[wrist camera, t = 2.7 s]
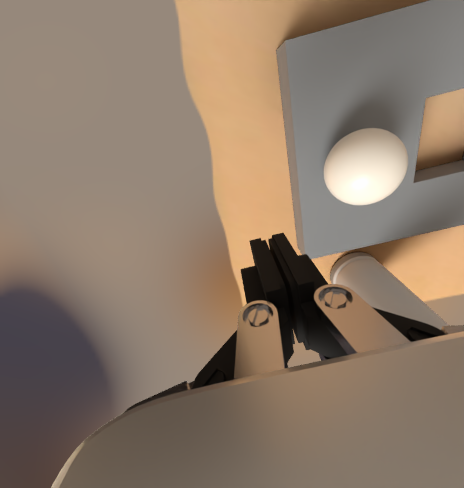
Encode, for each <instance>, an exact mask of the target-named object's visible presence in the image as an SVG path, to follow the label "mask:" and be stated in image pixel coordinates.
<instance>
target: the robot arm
mask: <svg viewBox="0 0 464 488" xmlns="http://www.w3.org/2000/svg"><path fill="white" fill-rule="evenodd" d="M250 245H251V250H252V254H253V259H254V263H255V266H252V267H248V268H244V269H241V274H242V280H243V285H244V291H245V296H246V302H247V304H246V305H245V306H244V307H243V308H242V309H241V311H240V312H239V316H238V328H237V331H236V332H235V333H234V334H233V335H232V336H231V337H230V338H229V340H228V341H227V342H226V343H225V344H224V345H223V346H222V348H220V350H219V351H218V352H217V353H216V354H215V355H214V356H213V358H212V359H211V360H210V361H209V362H208V363H207V364H206V365H205V367H204V368H203V369H202V370H201V371H200V372H199V374H198V375H197V377H196V378H195V381H192V382H190V383H187V381H184V382H182V383H180V384H178V385H176V386H173V387H171V388H169V389H167V390H165V391H162V392H160V393H158V394H156V395H154V396H151V397H149V398H147V399H145V400H142V401H140V402H138V403H136V404H134V405H133V406H131V407H129V408H128V409H127V410H126V411H125V412H124V413H122V414H121V415H119V416H117V417H116V418H114V419H113V420H111V421H109V422H108V423H106V424H105V425H103V426H102V427H100V428H99V429H98V430H96V431H95V432H94V433H93V434H91V435H90V436H89V437H88V438H87V439H85V440H84V442H82V443H81V444H80V446H79V447H78V448H77V449H76V450H75V451H74V453H73V454H72V455H71V456H70V458H69V459H68V460H67V462H66V463H65V465H64V466H63V468H62V470H61V471H60V473H59V474H58V476H57V478H56V480H55V481H54V483H53V485H52V487H51V488H464V325H463V326H462V325H458V326H442V329H438V328H436V327H434V326H432V325H429V324H427V323H424V322H420V321H417V320H413V319H410V318H407V317H403V316H400V315H397V314H393V313H390V312H387V311H383V310H380V309H377V308H373V307H371V306H370V305H369V304H368V303H367V302H365V301H364V300H363V299H362V298H361V297H360V296H359V295H358V294H357V293H355V292H354V291H353V290H352V289H350V288H349V287H346V286H344V285H339V284H328V283H327V282H326V280H325V279H324V278H323V276H322V275H321V273H320V272H319V270H318V269H317V268H316V266H315V265H314V263H313V262H312V260H311V259H310V258H309V256H308V255H307V254H304V255H299V256H298V255H297V254H296V252H295V251H294V249H293V247H292V246H291V244H290V243H289V241H288V239H287V238H286V236H285V235H284V233H280V234H276V235H272V238H271V239H269V246H270V249H269V247H268V245H267V243H266V240H263V241H261V238H259V239H255V240H251V241H250ZM293 330H294V333H295V335H296V338H297V340H298V343H301V342H303V343H304V346H305V348H306V350H309V349H311V350H313V351H316V352H318V353H319V356H320V359H321V361H318V362H313V363H309V364H304V365H300V366H295V367H290V368H288V365H287V362H288V361H289V359H290V358H291V356H292V354H293V353H294V350H293V344H295V341H294V334H293Z"/></svg>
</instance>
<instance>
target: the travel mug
mask: <svg viewBox="0 0 464 488" xmlns="http://www.w3.org/2000/svg"><path fill="white" fill-rule="evenodd" d="M330 280H331V283H332V284H339V285H344V286H346V287H349V288H350V289H352V290H353V291H354V292H355V293H357V294H358V295H359V296H360V297H361V298H362V299H363V300H364V301H365V302H367V303H368V304H369V305H370V306H371V307H373V308H377V309H380V310H383V311H387V312H390V313H393V314H397V315H400V316H403V317H407V318H410V319H413V320H417V321H420V322H424V323H427V324H429V325H432V326H434V327H436V328H438V329H442V326H450V325H448V324H447V323H446V322H445V321H444V320H443V319H442V318H441V317H439V316H438V315H437V314H436V313H435V312H434V311H433V310H431V308H429V307H428V306H427V305H426V304H425V303H424V302H423V301H422V300H421V299H419V298H418V297H417V296H416V295H415V294H414V293H413V292H412V291H410V290H409V289H408V288H407V287H406V286H405V285H404V284H403V283H402V282H400V281H399V280H398V279H397V278H396V277H395V276H394V275H393V274H391V273H390V272H389V271H388V270H387V269H386V268H385V267H384V266H383V265H381V264H380V263H379V262H378V261H377V260H376V259H375V258H374V257H373V256H371V255H370V254H368V253H364V252H354V253H350V254H348V255H345V256H344V257H342V258H341V259H339V260H338V261H337V262H336V263H335V264H334V266H333V268H332V270H331V273H330Z"/></svg>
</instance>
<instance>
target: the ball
mask: <svg viewBox="0 0 464 488" xmlns="http://www.w3.org/2000/svg"><path fill="white" fill-rule="evenodd" d="M407 167H408V155H407V151H406V148H405V146H404V144H403V143H402V141H401V140H400V139H399V138H398V137H397V136H396V135H394V134H393V133H391V132H389V131H387V130H383V129H379V128H365V129H360V130H357V131H354V132H352V133H350V134H348V135H346V136H345V137H343V138H342V139H341V140H339V141H338V142H337V143H336V144H335V145H334V147H333V148H332V149H331V151H330V152H329V154H328V156H327V159H326V161H325V165H324V180H325V183H326V186H327V188H328V189H329V191H330V192H331V194H332V195H333V196H335V197H336V198H337V199H339V200H340V201H342V202H344V203H347V204H351V205H368V204H372V203H376V202H378V201H380V200H382V199H384V198H386V197H387V196H389V195H390V194H391V193H393V192H394V191H395V190H396V189H397V188H398V186H399V185H400V184H401V182H402V180H403V179H404V177H405V174H406V171H407Z"/></svg>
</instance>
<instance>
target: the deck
mask: <svg viewBox="0 0 464 488" xmlns="http://www.w3.org/2000/svg"><path fill="white" fill-rule="evenodd" d="M276 54H277V63H278V72H279V81H280V90H281V99H282V108H283V118H284V127H285V136H286V145H287V154H288V163H289V172H290V182H291V191H292V200H293V209H294V218H295V227H296V236H297V246H298V249H299V250H300V252H301V254H302V255H304V254H307V255H308V256H309V258H310V259H313V258H318V257H322V256H326V255H331V254H335V253H340V252H344V251H349V250H353V249H358V248H362V247H366V246H371V245H375V244H380V243H384V242H389V241H393V240H398V239H402V238H407V237H411V236H415V235H420V234H424V233H429V232H433V231H438V230H442V229H447V228H451V227H455V226H460V225H464V154H463V158H462V160H460V161H455V162H451V163H447V164H443V165H439V166H435V167H430V168H426V169H422V170H418V171H415V168H416V161H417V154H418V148H419V141H420V134H421V127H422V120H423V113H424V107H425V100H426V98H428V97H431V96H435V95H439V94H443V93H447V92H451V91H455V90H459V89H463V88H464V0H429V1H426V2H422V3H418V4H415V5H411V6H408V7H404V8H400V9H397V10H393V11H390V12H386V13H383V14H379V15H375V16H372V17H368V18H365V19H361V20H357V21H354V22H350V23H347V24H343V25H339V26H336V27H332V28H329V29H325V30H322V31H318V32H314V33H311V34H307V35H304V36H300V37H296V38H293V39H289V40H286V41H284V43H283V44H282V45H281V46H280V47H279V48H278V49H277V50H276ZM365 128H379V129H383V130H387V131H389V132H391V133H393V134H394V135H396V136H397V137H398V138H399V139H400V140H401V141H402V143H403V144H404V146H405V148H406V151H407V155H408V167H407V171H406V174H405V177H404V179H403V180H402V182H401V184H400V185H399V186H398V188H397V189H396V190H395V191H394V192H393V193H391V194H390V195H389V196H387V197H386V198H384V199H382V200H380V201H378V202H376V203H372V204H368V205H351V204H347V203H344V202H342V201H340V200H339V199H337V198H336V197H335V196H333V195H332V194H331V192H330V191H329V189H328V188H327V186H326V183H325V180H324V165H325V161H326V159H327V156H328V154H329V152H330V151H331V149H332V148H333V147H334V145H335V144H336V143H337V142H338V141H339V140H341V139H342V138H343V137H345V136H346V135H348V134H350V133H352V132H354V131H357V130H360V129H365Z"/></svg>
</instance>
